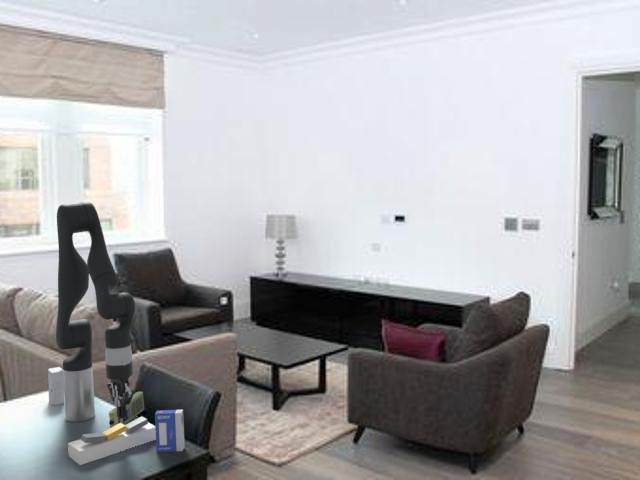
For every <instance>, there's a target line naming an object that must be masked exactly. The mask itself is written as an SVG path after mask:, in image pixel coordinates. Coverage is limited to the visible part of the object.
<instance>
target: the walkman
mask: <svg viewBox="0 0 640 480" xmlns="http://www.w3.org/2000/svg"><path fill="white" fill-rule="evenodd" d="M184 420H185V418H184V409H166V410H165V409H164V410H162V409H161V410H156V411H155V413H154V422H155V425H154V426H155V428H156V440H155V447H156V448H155V450H156V453H167V452H169V453H170V452H172V453H173V452H184V449H185V424H184V423H185V422H184Z"/></svg>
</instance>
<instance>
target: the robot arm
mask: <svg viewBox="0 0 640 480" xmlns="http://www.w3.org/2000/svg"><path fill="white" fill-rule="evenodd" d="M97 211H98V210H97V209H96V207H95V205H94V204H93V203H92V202H90V201H80V202H69V203H64V204H61V205H59V206H58V208H57V212H56V228H57V241H58V266H57V267H58V268H57V269H58V270H57V297H58V298H57V299H58V301H57V302H58V304H57V317H56V318H57V319H56V325H55V326H56V327H55V328H56V329H55V340H56V345H57V348H58V349H60V350H72V349H78V350H77V351H76V352H75V353H73V354H72V355H70V356H68V357H66V358H65V359H64V360H63V361H62V370H63V378H64V408H65V409H64V411H65V420H66V421H67V422H72V423H73V422H74V423H77V422H78V423H79V422H85V421H87V420H91V419H92V418H94V417H95V416H96V415H95V414H96V413H95V412H96V411H95V410H96V409H95V408H96V406H95V392H94V390H95V389H94V373H93V370H94V369H93V342H92V341H93V329H92V325H91V322H90V321H89V320H88V318H87V319H86V318H82V319H73V320H71V318H72V317H71V316H72V314H73V312H74V310H75V308H76V307H77V306H78V305H79V303H80V302H81V301H82V300H83V298H84V297H85V295H86V293H87V292H88V290H89V288H90V287H89V285H90V284H89V283H90V279H91V281H92V284H93V287H94V292H95V301H96V310H97V313H98V315H99V316H100V317H101V318H102V319H103V320H114V319H116V321H115V323H114V324H113V323H112V325H110V326H108V327H107V328H105V331H104V338H105V339H104V340H105V342H104V343H105V352H104V353H105V354H104V355H105V376H106V378H107V379H109V380H110V382H108V383H107V384H106V385H107V388H108V392H109V395H110V398H111V400H112V402H113V403H114V404H115V407H117V417H118V418H120V419H121V418H125V417H126V405H129V404H130V402H131V400H132V397H133V395H134V394H135V391H134V390H131V389H130V381H129V379H130V377H132V376H133V374H134V370H133V352H132V345H131V328H132V323H133V320H134V315H135V312H136V303H135V298H134V297H133V296H132V294H131V293H129V292H120V293H119V292H118V293H114V294H110V291H112V290H113V289H115V288H117V287H118V285H119V277H118V275H117V272H116V271H115V267H114V266H113V264H112V261H111V258H110V256H109V253H108V249H107V248H108V247H107V244H106V240H105V235H104V232H103V228H102V224H101V221H100V217H99V214H98V212H97ZM85 232H88V233H89V236H90V242H91V243H90V248H89V253H88V256H87V260H86V261H85V260H84V258H83V257H82V256H81V254H80V253H79V252H78V250H77V249H76V247H75V246H74V241H73V240H74V239H73V236H74V234H78V233H85Z"/></svg>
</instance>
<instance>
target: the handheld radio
mask: <svg viewBox="0 0 640 480" xmlns="http://www.w3.org/2000/svg"><path fill="white" fill-rule="evenodd" d="M144 402H145V401H144V392H143V391H137V392H134V395H133V397H132V400H131V402H130V404H129V405H126V417H125V418H121V419H120V418H118V417H117V406H115V407H114V408H113V409H111V410H110V411H108V418H109V419H108V420H109V422H108V425H109V429H110V428H111V427H113V426H115V425H117V424H119V423H122V424H124V425H126V424H128V423H130V422H132V421H133V419H135V418H136V417H137V416H138V415H139V414H140V413H142V412H143V411H145V403H144Z"/></svg>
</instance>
